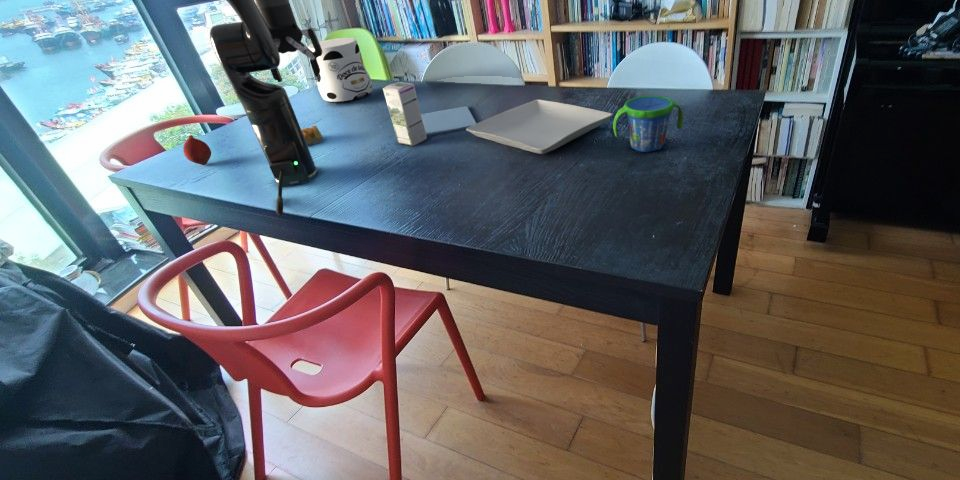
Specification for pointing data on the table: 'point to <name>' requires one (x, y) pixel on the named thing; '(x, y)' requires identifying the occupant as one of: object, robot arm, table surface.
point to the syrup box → (405, 113)
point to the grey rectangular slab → (447, 120)
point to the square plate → (539, 125)
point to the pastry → (312, 135)
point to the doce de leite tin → (342, 71)
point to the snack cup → (648, 121)
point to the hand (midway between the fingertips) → (299, 78)
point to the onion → (196, 150)
